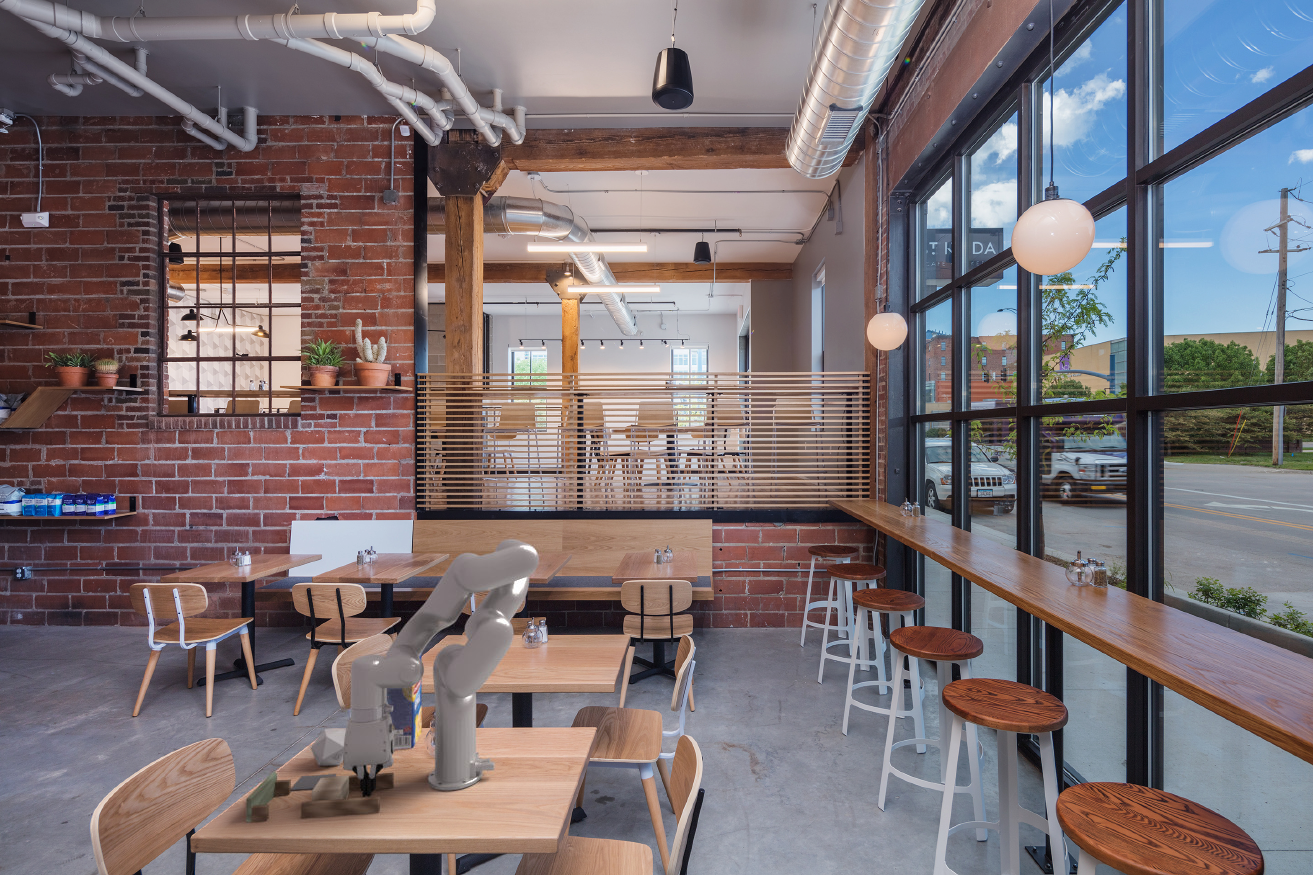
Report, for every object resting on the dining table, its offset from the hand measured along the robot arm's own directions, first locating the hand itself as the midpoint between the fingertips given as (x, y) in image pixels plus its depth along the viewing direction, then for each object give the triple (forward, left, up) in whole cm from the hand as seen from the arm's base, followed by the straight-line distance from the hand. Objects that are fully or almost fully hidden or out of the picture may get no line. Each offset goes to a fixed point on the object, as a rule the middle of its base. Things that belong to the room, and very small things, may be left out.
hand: (368, 793), depth 148 cm
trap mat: (+16, -10, -1) cm, 19 cm away
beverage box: (0, -32, -2) cm, 32 cm away
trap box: (+9, 0, -1) cm, 9 cm away
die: (+15, -21, -2) cm, 26 cm away
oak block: (+8, 0, -2) cm, 8 cm away
